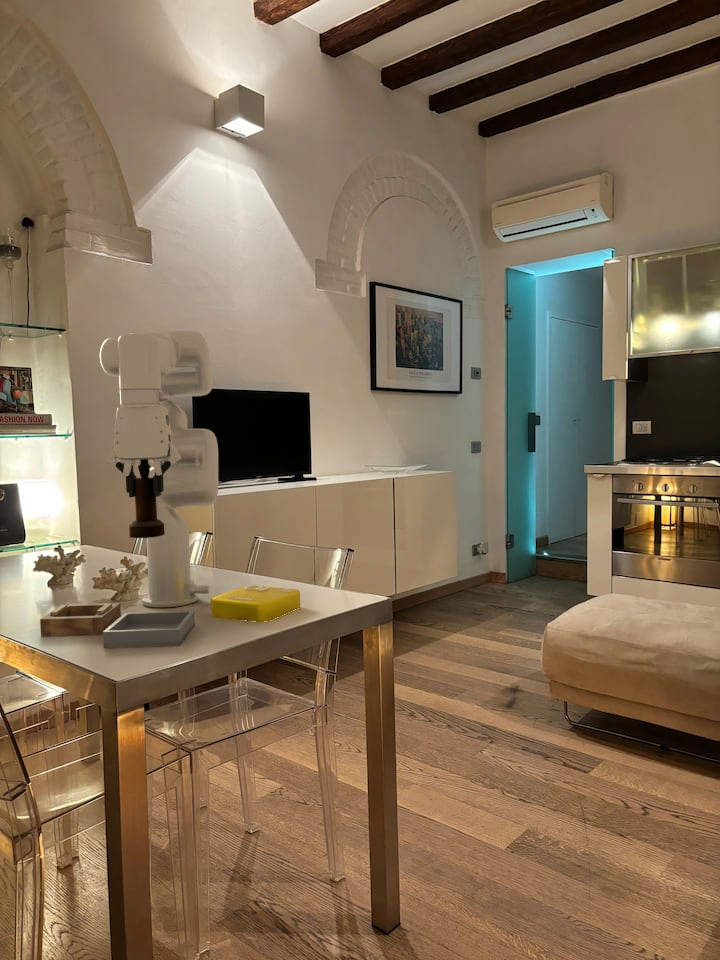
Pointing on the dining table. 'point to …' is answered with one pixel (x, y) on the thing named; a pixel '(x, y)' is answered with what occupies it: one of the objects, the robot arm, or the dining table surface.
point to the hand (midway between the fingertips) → (145, 495)
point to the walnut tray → (79, 619)
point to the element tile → (255, 603)
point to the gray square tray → (149, 629)
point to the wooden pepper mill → (145, 506)
